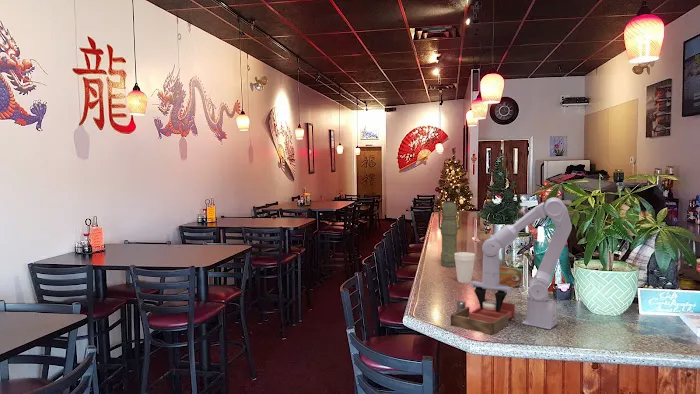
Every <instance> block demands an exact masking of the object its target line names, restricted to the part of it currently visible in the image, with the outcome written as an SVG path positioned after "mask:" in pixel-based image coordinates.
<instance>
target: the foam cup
mask: <svg viewBox="0 0 700 394" xmlns="http://www.w3.org/2000/svg"><path fill="white" fill-rule="evenodd" d="M475 261H476V254H475V253H474V252H467V251H466V252H465V251H462V252H461V251H459V252H458V251H457V253H455V263H456V267H455V270H456V279H457V282H459V283H463V284H468V283H471V282H472V281H473V280H472V279H473V272H474V266H475Z"/></svg>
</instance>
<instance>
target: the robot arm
mask: <svg viewBox="0 0 700 394" xmlns="http://www.w3.org/2000/svg"><path fill="white" fill-rule="evenodd" d="M547 217H548V218H550V220H552V223H553V224H554V227H555V230H554V231H553V234H552V237H551V238H550V241H549V243H548V246H547V248H546V251H545V253H544V255H543V258H542V260H541V263H540V264H539V267H538V269H537V271H536V273H535V274H534V276H533V277H532V278H530V280H529V281H528V289H527V292H528V294H527V295H526V319H525V320H523V321H522V322H521V324H523V325H527V326H531V327H532V326H533V327H536V328H542V329H545V330H551V329H553V328H554V327H555V326H556V325H558V321H557V320H558V305H557V302H556V301H554V300H551V299H550V296H548V295H549V289H548V287H549V284H550V282H551V279H552V275H553V272H554V271H555V268H556V267H557V263H558V262H559V259H560V257H561V255H562V252H563V250H564V248H565V245H566V242H567V241H568V238H569V236H570V234H571V231H572V228H573V226H572V222H571V218H570V214H569V210H568V208H567V206H566V204H565V203H564V202H563V201H562V200H561V199H560V198H559V197H555V196H554V197H549V198H547V199H546V200H545V202H544V201H543V202H541V203H540V204H538V205H535V207H533V208H532V209H530V210H529V211H528V212H527V213H526V214H524V215H523V216H522V217H520V218H519V219H518V220H517V221H515V222H514V223H513V224H506V225H501V226H500V228H499V229H500V230H498V231H496V232H495V233H494V234H490V236H489V237H490V238H487V239H486V240H485V241H484V242H483V244H482V245H481V249H482V252H483V255H482V258H483V259H482V281H476V280H471V282H470V288H475V289H474V290H473V291H474V292H473V293H474V294H475V296H476V298H477V301H478V303H479V307H480V308H481V309H483V301H485V299H486V293H487V290H489V291H495V292H494V296H495V301H496V312H499V311H500V310H501V306H502V303H503V302H504V300H505V298H506V296H507V294H512V289H513V287H509V286H504V285H500V284H499V266H500V258H499V257H500V255H499V253H500V250H501V249H505V248H506V247H507V246H508V245H510V244H512V242H514V241H515V240H517V238H518V237H519V232H520V231H522V230H523V229H525V228H526V227H527V226H529V225H530V224H532V223H533V222H536V221H537V220H538V219H546V218H547Z"/></svg>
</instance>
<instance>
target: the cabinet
mask: <svg viewBox="0 0 700 394" xmlns="http://www.w3.org/2000/svg"><path fill="white" fill-rule="evenodd" d="M469 313H470V307H469V306H466V308H464V309H462V310H460V311H458V312H457V311H456V312H454V313H452V314H451V315H450V326H453V327H457V328H463V329H467V330H471V331H476V332H480V333H484V334H487V335H488V334H489V335H494V334H496V333H498V332H499V331H502V329H504V328H506V327H507V326H509V319H508V315H504V316H502V317H501V318H499V319H498V320H496V321H494V322H493V323H490V322H485V321H481V320H476V319H472V318H469Z"/></svg>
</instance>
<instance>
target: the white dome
mask: <svg viewBox="0 0 700 394" xmlns="http://www.w3.org/2000/svg"><path fill="white" fill-rule="evenodd" d="M483 309H486V310H496V300H495V301H489V300H488V301H483Z"/></svg>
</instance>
